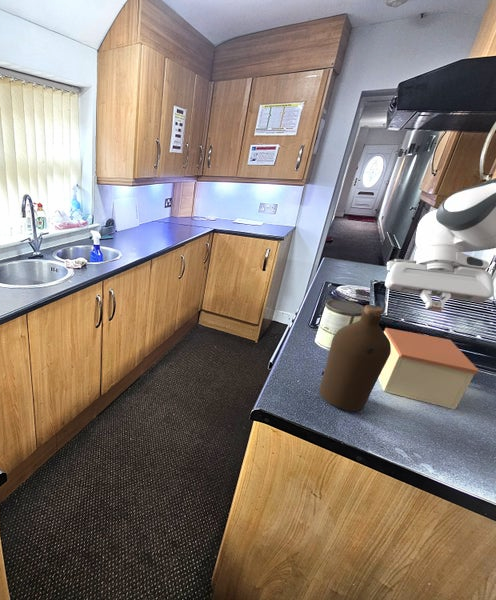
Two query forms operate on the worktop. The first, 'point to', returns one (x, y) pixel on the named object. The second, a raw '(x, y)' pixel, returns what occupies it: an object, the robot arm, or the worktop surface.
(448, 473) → the worktop surface
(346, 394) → the brown bottle
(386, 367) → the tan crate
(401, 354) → the lid
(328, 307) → the coffee can
